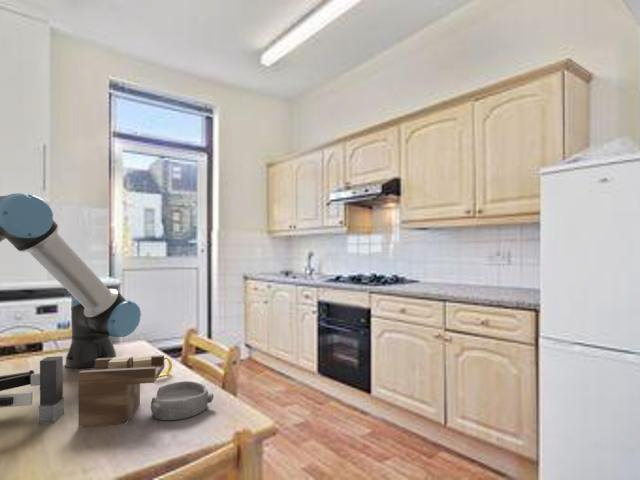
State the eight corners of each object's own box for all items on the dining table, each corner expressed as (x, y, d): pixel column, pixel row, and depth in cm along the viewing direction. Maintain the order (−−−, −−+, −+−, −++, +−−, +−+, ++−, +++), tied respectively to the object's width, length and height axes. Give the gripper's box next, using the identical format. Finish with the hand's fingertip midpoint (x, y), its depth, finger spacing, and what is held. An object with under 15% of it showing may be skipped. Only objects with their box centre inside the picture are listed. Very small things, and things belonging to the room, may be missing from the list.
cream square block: (113, 369, 101) (113, 357, 101) (131, 368, 102) (131, 356, 102) (108, 374, 97) (108, 362, 97) (126, 373, 98) (126, 361, 98)
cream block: (133, 369, 101) (132, 357, 101) (150, 367, 103) (150, 355, 103) (133, 374, 98) (133, 361, 98) (151, 371, 99) (151, 359, 99)
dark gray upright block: (49, 414, 99) (49, 355, 99) (64, 413, 100) (64, 355, 100) (37, 424, 94) (37, 362, 94) (54, 423, 94) (54, 361, 94)
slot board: (97, 406, 104) (97, 358, 104) (164, 401, 107) (164, 354, 107) (78, 426, 92) (78, 372, 92) (154, 421, 95) (153, 368, 95)
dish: (152, 427, 92) (152, 405, 92) (146, 405, 104) (146, 386, 104) (217, 414, 99) (217, 393, 99) (205, 395, 111) (204, 377, 111)
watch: (168, 373, 131) (169, 354, 131) (172, 375, 129) (173, 356, 129) (149, 376, 126) (151, 357, 127) (153, 378, 124) (155, 358, 125)
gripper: (-21, 390, 105) (70, 385, 108) (-105, 436, 80) (16, 427, 84) (-21, 361, 105) (70, 356, 108) (-105, 397, 80) (16, 390, 84)
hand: (47, 387), depth 96 cm, fingers open, 13 cm apart
